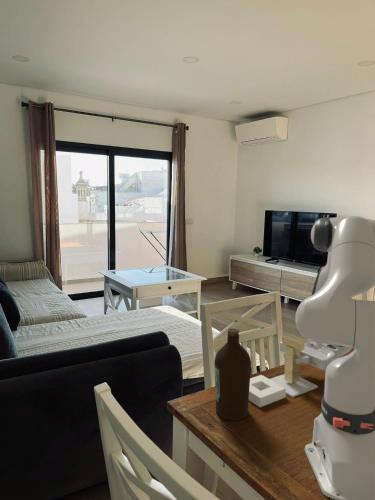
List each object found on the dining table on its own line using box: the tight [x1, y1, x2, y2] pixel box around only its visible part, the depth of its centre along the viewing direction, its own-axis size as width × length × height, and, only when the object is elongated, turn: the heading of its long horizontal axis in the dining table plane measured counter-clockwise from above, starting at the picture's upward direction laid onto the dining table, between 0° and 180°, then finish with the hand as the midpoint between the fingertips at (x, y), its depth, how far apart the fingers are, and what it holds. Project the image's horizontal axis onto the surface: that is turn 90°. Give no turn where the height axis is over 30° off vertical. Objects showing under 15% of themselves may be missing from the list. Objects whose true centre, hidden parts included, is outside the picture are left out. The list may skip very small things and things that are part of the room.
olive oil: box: [213, 327, 252, 421], centre depth 105 cm, size 11×11×25 cm
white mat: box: [269, 374, 319, 398], centre depth 123 cm, size 12×12×1 cm
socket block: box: [248, 374, 287, 408], centre depth 116 cm, size 11×11×3 cm
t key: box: [281, 335, 306, 384], centre depth 122 cm, size 8×3×14 cm, turn 32°
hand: (290, 358), depth 121 cm, fingers closed on t key, 3 cm apart
